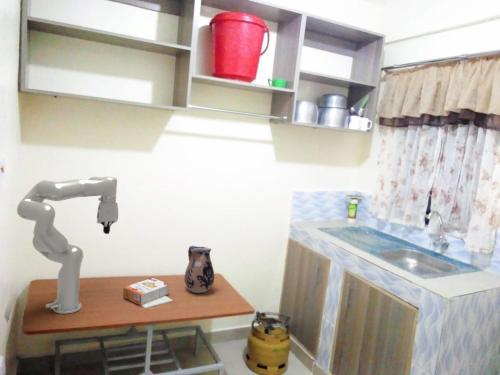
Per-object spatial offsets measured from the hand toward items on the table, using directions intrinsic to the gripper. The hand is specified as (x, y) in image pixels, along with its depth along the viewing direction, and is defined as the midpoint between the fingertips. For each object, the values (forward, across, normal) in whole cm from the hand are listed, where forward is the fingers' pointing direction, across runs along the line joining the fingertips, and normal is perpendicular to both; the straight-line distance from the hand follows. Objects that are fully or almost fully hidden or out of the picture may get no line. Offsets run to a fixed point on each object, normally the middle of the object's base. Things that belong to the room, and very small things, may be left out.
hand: (106, 233), depth 199 cm
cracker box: (+29, +6, -20) cm, 36 cm away
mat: (+33, +17, -21) cm, 43 cm away
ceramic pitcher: (+33, +46, -24) cm, 62 cm away
